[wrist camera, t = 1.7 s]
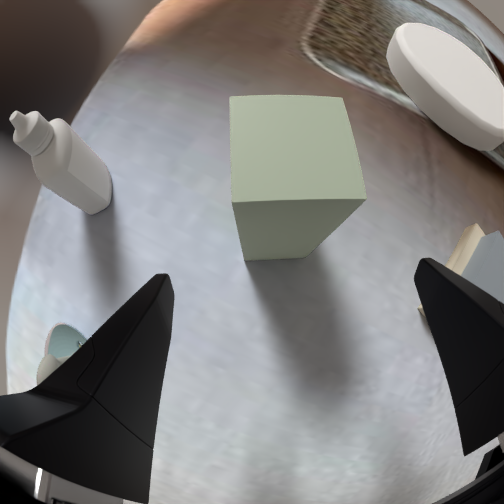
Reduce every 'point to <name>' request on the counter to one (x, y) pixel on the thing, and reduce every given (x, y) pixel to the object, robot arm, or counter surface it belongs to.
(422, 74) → the container
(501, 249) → the tower middle
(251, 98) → the pillar block
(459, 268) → the tower base
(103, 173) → the eye dropper bottle
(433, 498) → the counter surface
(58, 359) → the pacifier
